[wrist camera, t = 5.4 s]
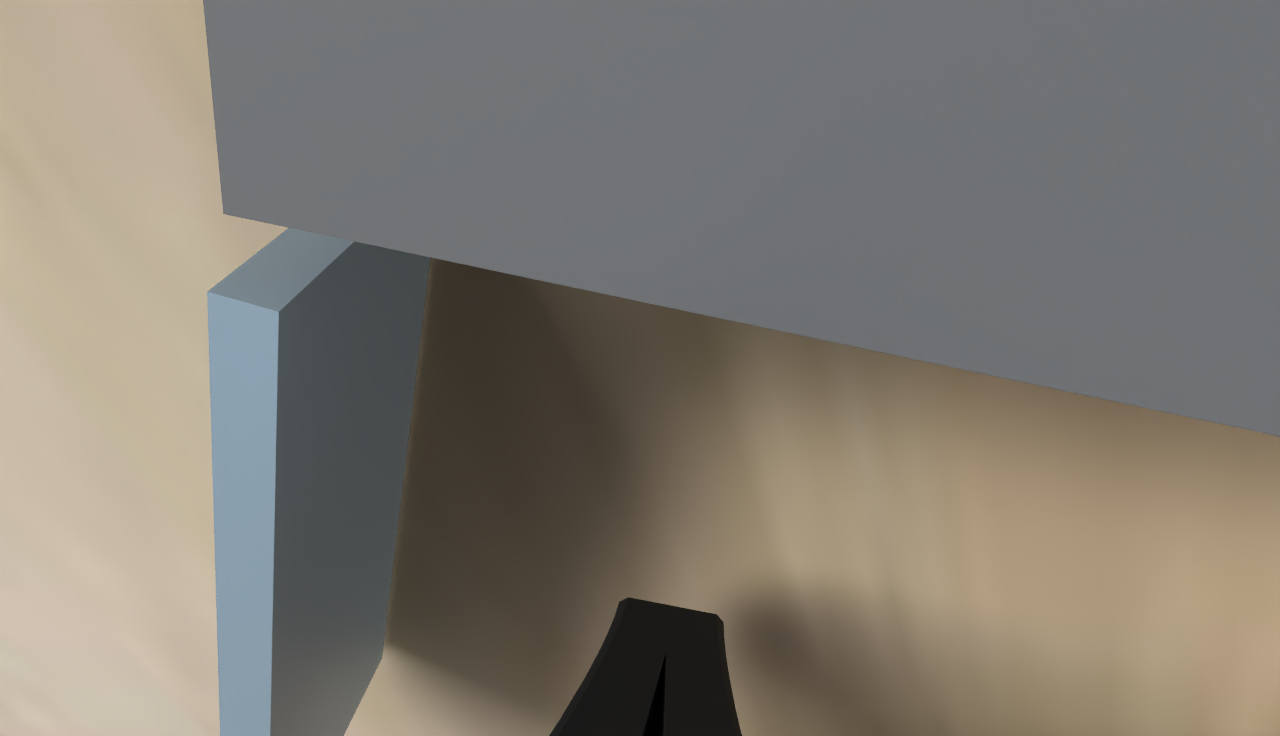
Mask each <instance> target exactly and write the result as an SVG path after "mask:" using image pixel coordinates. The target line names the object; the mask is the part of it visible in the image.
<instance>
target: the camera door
mask: <svg viewBox="0 0 1280 736" xmlns="http://www.w3.org/2000/svg"><path fill="white" fill-rule="evenodd" d="M429 265H430V257H426V256H421V255H417V254H412V253H407V252H402V251H398V250H393V249H388V248H383V247H379V246H374V245H369V244H364V243H360V242H355V241H350V240H345V239H341V238H336V237H331V236H326V235H322V234H317V233H312V232H307V231H303V230H298V229H293V228H288V229H287V230H286V231H284V232H283V233H282V234H280V235H279V236H278V237H277V238H275V239H274V240H273V241H272V242H270V243H269V244H268V245H266V246H265V247H264V248H263V249H261V250H260V251H259V252H257V253H256V254H255V255H254V256H252V257H251V258H250V259H249V260H247V261H246V262H245V263H243V264H242V265H241V266H240V267H238V268H237V269H236V270H235V271H233V272H232V273H231V274H229V275H228V276H227V277H226V278H224V279H223V280H222V281H220V282H219V283H218V284H217V285H215V286H214V287H213V288H212V289H210V290H209V291H208V292H207V294H208V329H209V363H210V398H211V432H212V466H213V501H214V535H215V570H216V604H217V639H218V673H219V708H220V736H344V734H345V732H346V730H347V728H348V726H349V723H350V721H351V719H352V717H353V715H354V713H355V711H356V709H357V707H358V705H359V703H360V701H361V699H362V697H363V695H364V693H365V691H366V689H367V687H368V685H369V683H370V681H371V679H372V677H373V675H374V673H375V671H376V669H377V667H378V665H379V663H380V661H381V659H382V653H383V645H384V637H385V628H386V620H387V612H388V604H389V595H390V587H391V579H392V571H393V562H394V554H395V546H396V538H397V529H398V521H399V513H400V505H401V496H402V488H403V480H404V472H405V463H406V455H407V447H408V439H409V430H410V422H411V414H412V406H413V397H414V389H415V381H416V373H417V364H418V356H419V348H420V340H421V331H422V323H423V315H424V307H425V298H426V290H427V282H428V274H429Z"/></svg>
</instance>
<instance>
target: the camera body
mask: <svg viewBox="0 0 1280 736" xmlns="http://www.w3.org/2000/svg"><path fill="white" fill-rule="evenodd" d="M203 3H204V14H205V24H206V35H207V45H208V56H209V66H210V77H211V87H212V98H213V108H214V119H215V129H216V140H217V150H218V161H219V171H220V182H221V192H222V203H223V213H224V214H227V215H232V216H236V217H241V218H246V219H251V220H255V221H260V222H265V223H270V224H274V225H279V226H284V227H288V228H293V229H298V230H303V231H307V232H312V233H317V234H322V235H326V236H331V237H336V238H341V239H345V240H350V241H355V242H360V243H364V244H369V245H374V246H379V247H383V248H388V249H393V250H398V251H402V252H407V253H412V254H417V255H421V256H426V257H431V258H436V259H440V260H445V261H450V262H455V263H459V264H464V265H469V266H474V267H478V268H483V269H488V270H493V271H497V272H502V273H507V274H512V275H516V276H521V277H526V278H531V279H535V280H540V281H545V282H550V283H554V284H559V285H564V286H569V287H573V288H578V289H583V290H588V291H592V292H597V293H602V294H607V295H611V296H616V297H621V298H626V299H630V300H635V301H640V302H645V303H649V304H654V305H659V306H664V307H668V308H673V309H678V310H683V311H687V312H692V313H697V314H702V315H706V316H711V317H716V318H721V319H725V320H730V321H735V322H740V323H744V324H749V325H754V326H759V327H763V328H768V329H773V330H778V331H782V332H787V333H792V334H797V335H801V336H806V337H811V338H816V339H820V340H825V341H830V342H835V343H839V344H844V345H849V346H854V347H858V348H863V349H868V350H873V351H877V352H882V353H887V354H892V355H896V356H901V357H906V358H911V359H915V360H920V361H925V362H930V363H934V364H939V365H944V366H949V367H953V368H958V369H963V370H967V371H972V372H977V373H982V374H986V375H991V376H996V377H1001V378H1005V379H1010V380H1015V381H1020V382H1024V383H1029V384H1034V385H1039V386H1043V387H1048V388H1053V389H1058V390H1062V391H1067V392H1072V393H1077V394H1081V395H1086V396H1091V397H1096V398H1100V399H1105V400H1110V401H1115V402H1119V403H1124V404H1129V405H1134V406H1138V407H1143V408H1148V409H1153V410H1157V411H1162V412H1167V413H1172V414H1176V415H1181V416H1186V417H1191V418H1195V419H1200V420H1205V421H1210V422H1214V423H1219V424H1224V425H1229V426H1233V427H1238V428H1243V429H1248V430H1252V431H1257V432H1262V433H1267V434H1271V435H1276V436H1280V0H203Z"/></svg>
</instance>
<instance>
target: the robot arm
mask: <svg viewBox="0 0 1280 736" xmlns="http://www.w3.org/2000/svg"><path fill="white" fill-rule="evenodd" d="M549 736H742V734H741V730H740V726H739V722H738V718H737V713H736V709H735V704H734V699H733V694H732V689H731V684H730V678H729V672H728V666H727V659H726V652H725V642H724V625H723V621H722V620H721V619H720V618H719V616H718V615H716V614H711V613H706V612H701V611H696V610H691V609H686V608H680V607H675V606H670V605H665V604H660V603H655V602H650V601H644V600H639V599H634V598H626V599H624V600H622V601H620V602H619V605H618V608H617V611H616V614H615V617H614V620H613V622H612V624H611V627H610V629H609V632H608V634H607V636H606V638H605V640H604V643H603V645H602V647H601V649H600V651H599V653H598V655H597V657H596V658H595V660H594V662H593V664H592V666H591V668H590V670H589V672H588V673H587V675H586V677H585V679H584V681H583V682H582V684H581V686H580V687H579V689H578V690H577V692H576V694H575V695H574V697H573V699H572V700H571V702H570V704H569V705H568V707H567V709H566V710H565V712H564V714H563V715H562V717H561V719H560V720H559V722H558V723H557V725H556V726H555V728H554V729H553V731H552V733H551V734H550V735H549Z"/></svg>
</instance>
